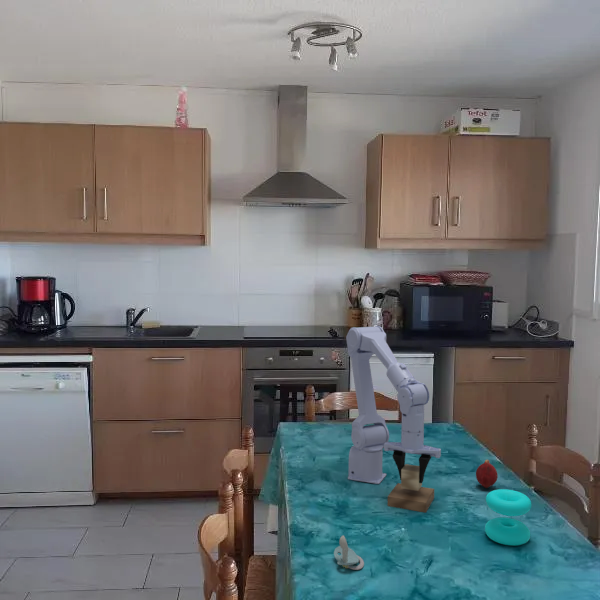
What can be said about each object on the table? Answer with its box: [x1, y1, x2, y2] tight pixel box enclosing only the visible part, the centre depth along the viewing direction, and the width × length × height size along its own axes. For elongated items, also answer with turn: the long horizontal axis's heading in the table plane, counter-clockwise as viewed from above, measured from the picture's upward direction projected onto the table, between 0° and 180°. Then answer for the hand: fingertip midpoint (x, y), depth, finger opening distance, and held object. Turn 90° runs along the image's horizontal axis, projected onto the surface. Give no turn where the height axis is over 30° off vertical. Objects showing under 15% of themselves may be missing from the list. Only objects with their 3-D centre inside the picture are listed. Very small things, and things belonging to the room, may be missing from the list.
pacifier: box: [333, 535, 365, 571], centre depth 130 cm, size 7×6×6 cm
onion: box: [475, 459, 499, 489], centre depth 172 cm, size 6×6×8 cm
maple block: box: [400, 463, 423, 491], centre depth 162 cm, size 4×4×5 cm
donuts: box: [484, 488, 532, 546], centre depth 142 cm, size 10×10×10 cm
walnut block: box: [387, 482, 435, 513], centre depth 163 cm, size 10×10×3 cm
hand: (411, 480), depth 162 cm, fingers closed on maple block, 4 cm apart
